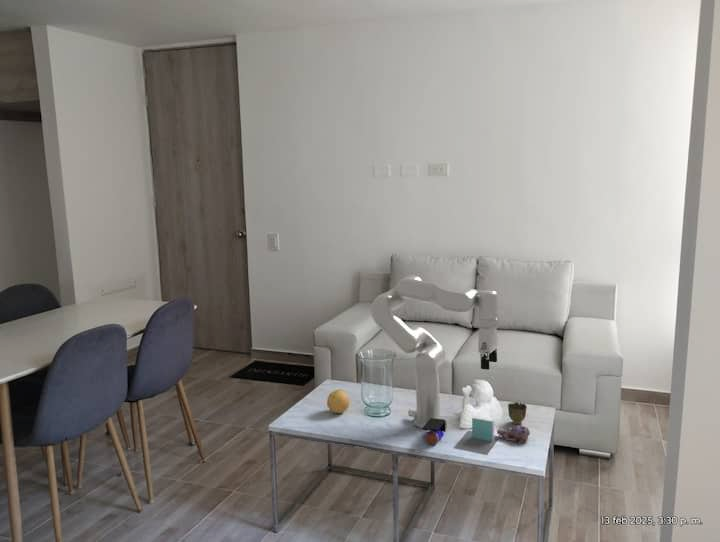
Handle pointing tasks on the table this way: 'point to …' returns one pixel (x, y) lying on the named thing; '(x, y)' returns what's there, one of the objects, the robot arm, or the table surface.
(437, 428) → the figurine character
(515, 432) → the skull
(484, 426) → the tile
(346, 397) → the orange fruit
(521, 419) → the cup
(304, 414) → the table surface
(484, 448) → the mat
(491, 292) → the robot arm
